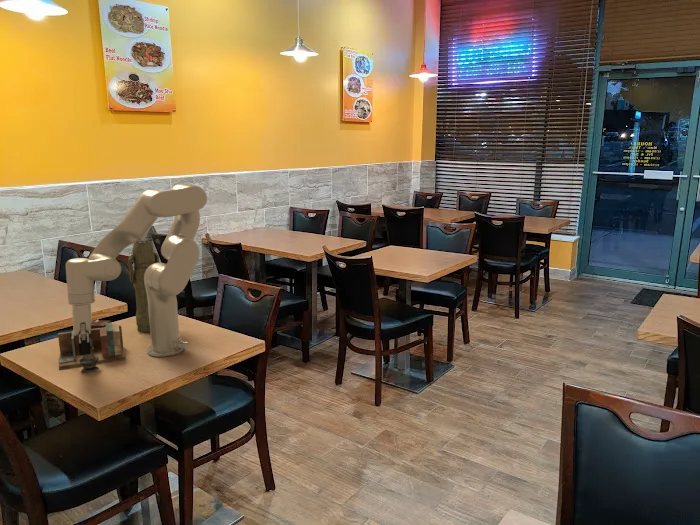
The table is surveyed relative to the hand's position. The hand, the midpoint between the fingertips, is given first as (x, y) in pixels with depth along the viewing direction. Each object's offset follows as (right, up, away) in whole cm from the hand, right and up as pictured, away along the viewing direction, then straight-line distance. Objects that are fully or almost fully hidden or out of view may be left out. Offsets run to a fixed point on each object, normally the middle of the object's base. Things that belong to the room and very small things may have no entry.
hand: (85, 349), depth 173 cm
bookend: (-10, -4, +9) cm, 14 cm away
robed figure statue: (+6, +1, +40) cm, 41 cm away
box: (-7, -2, +27) cm, 28 cm away
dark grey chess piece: (+1, -7, +2) cm, 8 cm away
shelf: (-3, -5, +12) cm, 14 cm away
